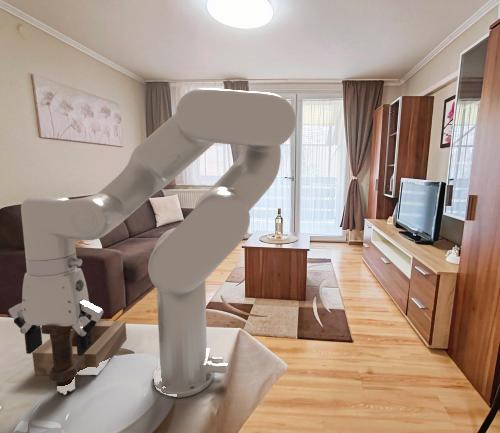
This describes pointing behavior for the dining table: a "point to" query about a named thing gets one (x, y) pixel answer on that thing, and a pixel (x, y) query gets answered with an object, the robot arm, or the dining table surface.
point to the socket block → (104, 347)
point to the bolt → (61, 354)
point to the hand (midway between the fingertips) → (59, 350)
